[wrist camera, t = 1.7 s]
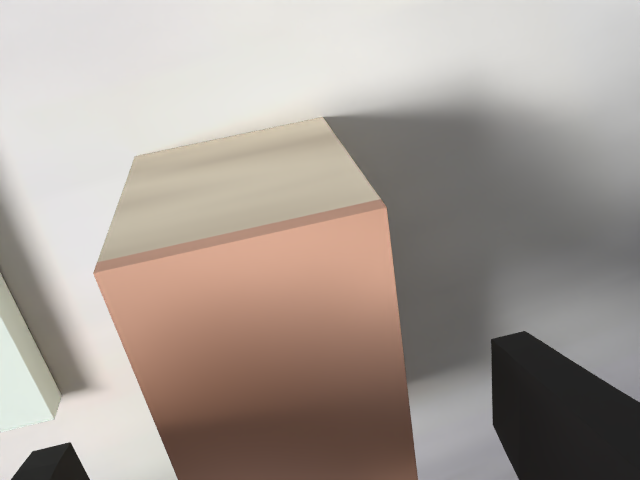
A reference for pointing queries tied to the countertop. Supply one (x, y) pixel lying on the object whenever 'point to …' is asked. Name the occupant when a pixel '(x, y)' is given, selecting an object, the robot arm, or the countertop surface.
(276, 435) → the maple block
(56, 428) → the countertop surface
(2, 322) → the mat
